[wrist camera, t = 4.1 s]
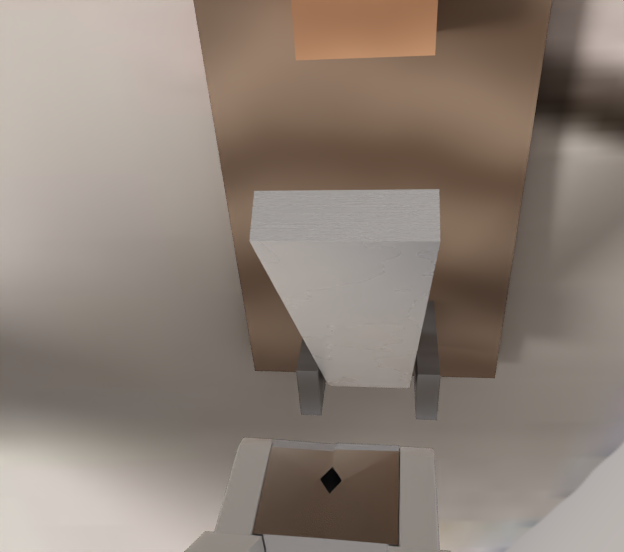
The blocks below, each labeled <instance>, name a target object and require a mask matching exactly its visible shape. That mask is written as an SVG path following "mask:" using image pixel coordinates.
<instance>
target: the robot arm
mask: <svg viewBox="0 0 624 552" xmlns="http://www.w3.org/2000/svg"><path fill="white" fill-rule="evenodd" d="M184 552H451V551H445V550H440V544H439V526H438V507H437V488H436V469H435V454H434V451H433V449H432V448H418V447H400V449H399V446H394V445H371V444H347V443H336V444H326V443H314V442H302V441H290V440H278V439H264V438H249V437H243V439H242V441H241V442H240V444H239V446H238V449H237V452H236V456H235V459H234V463H233V467H232V470H231V474H230V477H229V481H228V485H227V488H226V492H225V495H224V499H223V502H222V506H221V510H220V513H219V517H218V520H217V524H216V528H215V531H214V532H209V531H205V532H204V533H203V534H202V535H201V536H200V537H199V538H198V539H197V540H196V541H195V542H194V543H193V544H192V545H191V546H190V547H189V548H188V549H186V550H185V551H184Z"/></svg>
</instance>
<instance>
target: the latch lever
mask: <svg viewBox="0 0 624 552" xmlns="http://www.w3.org/2000/svg"><path fill="white" fill-rule="evenodd" d="M249 241H250V243H251V245H252V247H253V249H254V250H255V252H256V254H257V256H258V258H259V259H260V261H261V263H262V265H263V267H264V269H265V270H266V272H267V274H268V276H269V278H270V280H271V281H272V283H273V285H274V287H275V289H276V290H277V292H278V294H279V296H280V298H281V300H282V301H283V303H284V305H285V307H286V309H287V310H288V312H289V314H290V316H291V318H292V320H293V321H294V323H295V325H296V327H297V329H298V331H299V332H300V334H301V336H302V338H303V340H304V341H305V343H306V345H307V347H308V349H309V351H310V352H311V354H312V356H313V358H314V360H315V361H316V363H317V365H318V367H319V369H320V371H321V372H322V374H323V376H324V378H325V380H326V382H327V383H328V385H329V386H351V387H380V388H409V387H410V383H411V378H412V373H413V369H414V364H415V359H416V354H417V350H418V345H419V340H420V336H421V331H422V326H423V321H424V317H425V312H426V307H427V302H428V298H429V293H430V288H431V284H432V279H433V274H434V269H435V265H436V260H437V255H438V251H439V246H440V198H439V189H410V190H295V191H254V198H253V208H252V219H251V229H250V240H249Z"/></svg>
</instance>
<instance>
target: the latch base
mask: <svg viewBox="0 0 624 552" xmlns="http://www.w3.org/2000/svg"><path fill="white" fill-rule="evenodd" d="M193 1H194V7H195V13H196V19H197V25H198V31H199V37H200V43H201V49H202V55H203V61H204V67H205V73H206V79H207V85H208V91H209V97H210V103H211V109H212V115H213V121H214V127H215V133H216V139H217V145H218V151H219V157H220V163H221V169H222V175H223V181H224V187H225V193H226V199H227V205H228V211H229V217H230V223H231V229H232V235H233V241H234V247H235V253H236V259H237V265H238V271H239V277H240V283H241V289H242V295H243V301H244V307H245V313H246V319H247V325H248V331H249V337H250V343H251V349H252V355H253V361H254V367H255V371H281V372H296V373H297V381H298V390H299V399H300V408H301V415H321V413H322V406H323V398H324V390H325V382H326V380H325V378H324V376H323V374H322V372H321V371H320V369H319V367H318V365H317V363H316V361H315V360H314V358H313V356H312V354H311V352H310V351H309V349H308V347H307V345H306V343H305V341H304V340H303V338H302V336H301V334H300V332H299V331H298V329H297V327H296V325H295V323H294V321H293V320H292V318H291V316H290V314H289V312H288V310H287V309H286V307H285V305H284V303H283V301H282V300H281V298H280V296H279V294H278V292H277V290H276V289H275V287H274V285H273V283H272V281H271V280H270V278H269V276H268V274H267V272H266V270H265V269H264V267H263V265H262V263H261V261H260V259H259V258H258V256H257V254H256V252H255V250H254V249H253V247H252V245H251V243H250V241H249V240H250V229H251V219H252V208H253V198H254V191H295V190H410V189H439V198H440V246H439V251H438V255H437V260H436V265H435V269H434V274H433V279H432V284H431V288H430V293H429V298H428V302H427V307H426V312H425V317H424V321H423V326H422V331H421V336H420V340H419V345H418V350H417V354H416V359H415V364H414V369H413V373H412V376H414V387H415V413H416V419H424V420H437V411H438V399H439V386H440V376H442V377H474V378H495V373H496V366H497V360H498V353H499V346H500V340H501V333H502V327H503V320H504V314H505V307H506V300H507V294H508V287H509V281H510V274H511V267H512V261H513V254H514V248H515V241H516V235H517V228H518V221H519V215H520V208H521V202H522V195H523V189H524V182H525V175H526V169H527V162H528V156H529V149H530V143H531V136H532V129H533V123H534V116H535V110H536V103H537V96H538V90H539V83H540V77H541V70H542V64H543V57H544V50H545V44H546V37H547V31H548V24H549V18H550V11H551V4H552V0H193Z"/></svg>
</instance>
